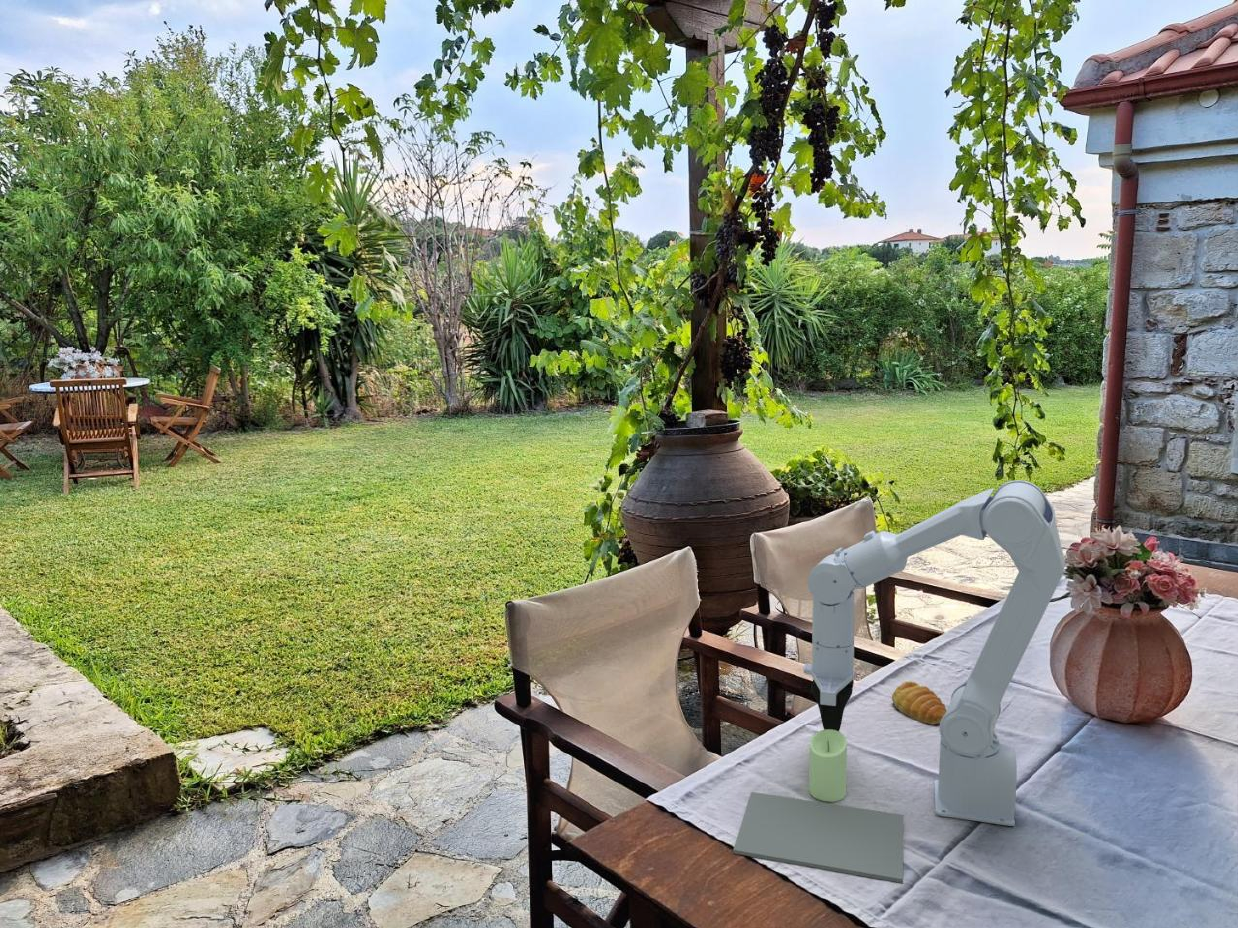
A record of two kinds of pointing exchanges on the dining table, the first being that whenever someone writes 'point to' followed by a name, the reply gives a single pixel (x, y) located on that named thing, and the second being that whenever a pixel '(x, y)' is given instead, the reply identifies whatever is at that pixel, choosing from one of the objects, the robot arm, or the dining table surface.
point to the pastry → (919, 703)
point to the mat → (823, 836)
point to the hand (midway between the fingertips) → (831, 728)
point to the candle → (828, 765)
